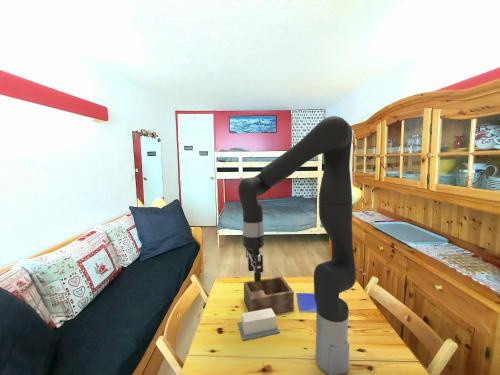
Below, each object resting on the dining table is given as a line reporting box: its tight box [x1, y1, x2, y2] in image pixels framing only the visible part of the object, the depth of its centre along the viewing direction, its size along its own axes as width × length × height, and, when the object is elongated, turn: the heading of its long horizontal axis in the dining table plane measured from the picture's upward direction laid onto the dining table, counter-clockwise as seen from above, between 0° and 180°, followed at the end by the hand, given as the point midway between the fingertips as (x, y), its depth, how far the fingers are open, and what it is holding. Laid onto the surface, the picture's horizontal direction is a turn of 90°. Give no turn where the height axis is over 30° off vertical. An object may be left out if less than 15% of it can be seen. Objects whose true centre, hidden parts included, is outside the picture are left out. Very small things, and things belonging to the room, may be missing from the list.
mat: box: [237, 321, 281, 342], centre depth 87 cm, size 9×14×1 cm, turn 104°
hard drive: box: [295, 292, 317, 314], centre depth 102 cm, size 2×8×12 cm
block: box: [241, 308, 277, 335], centre depth 87 cm, size 12×5×5 cm, turn 104°
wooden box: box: [243, 275, 295, 316], centre depth 100 cm, size 18×13×9 cm
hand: (254, 275), depth 84 cm, fingers open, 8 cm apart
